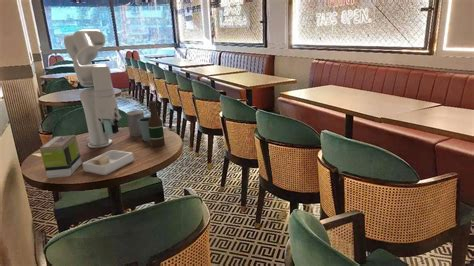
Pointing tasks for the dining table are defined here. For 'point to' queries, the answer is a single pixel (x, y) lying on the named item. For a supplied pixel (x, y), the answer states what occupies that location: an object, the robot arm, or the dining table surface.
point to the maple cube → (101, 160)
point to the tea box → (61, 156)
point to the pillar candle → (134, 122)
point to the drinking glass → (144, 128)
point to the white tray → (115, 159)
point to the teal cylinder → (108, 127)
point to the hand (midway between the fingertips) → (111, 131)
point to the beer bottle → (155, 127)
